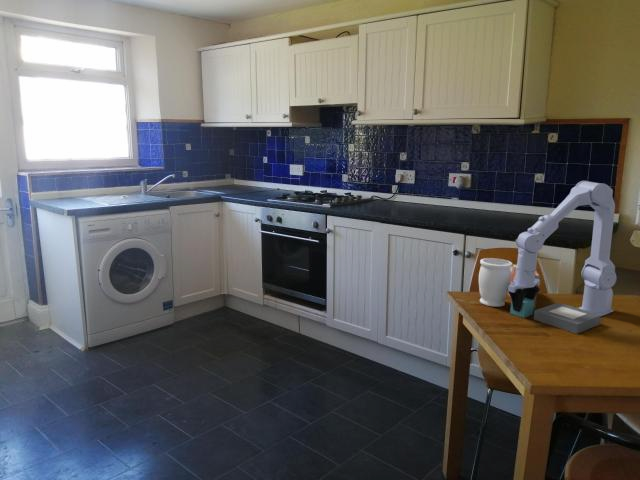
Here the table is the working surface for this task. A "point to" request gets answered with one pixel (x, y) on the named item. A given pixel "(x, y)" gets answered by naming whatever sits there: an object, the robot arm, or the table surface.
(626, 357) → the table surface
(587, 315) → the white-inset grey tile
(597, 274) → the robot arm
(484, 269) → the jar
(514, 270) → the stack of blocks
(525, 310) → the teal cube
